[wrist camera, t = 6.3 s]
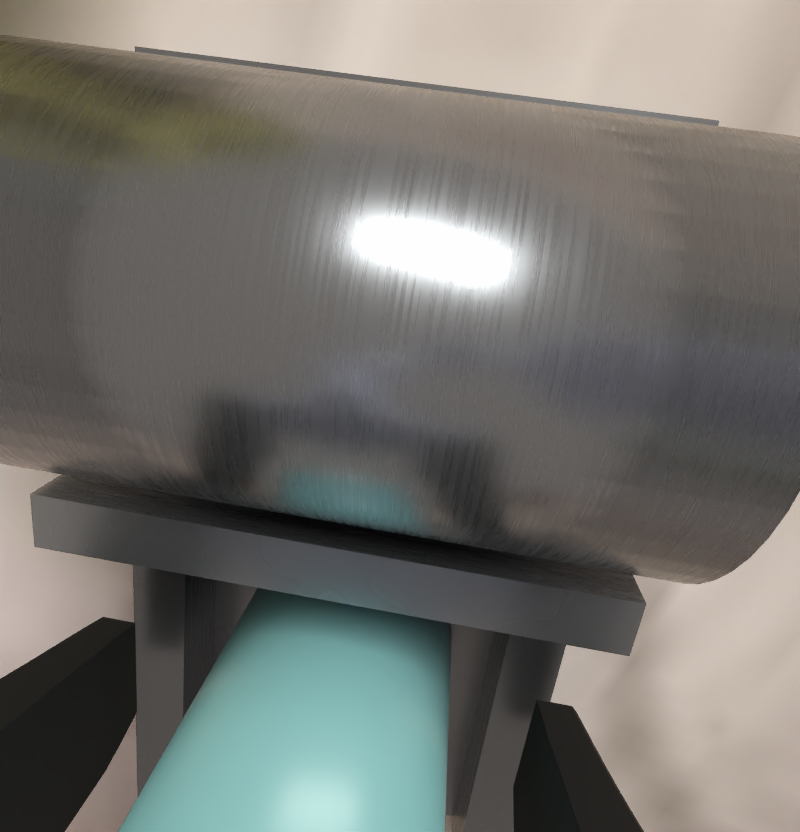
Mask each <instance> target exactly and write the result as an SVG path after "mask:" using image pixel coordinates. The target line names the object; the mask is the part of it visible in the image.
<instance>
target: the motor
mask: <svg viewBox="0 0 800 832" xmlns="http://www.w3.org/2000/svg"><path fill="white" fill-rule="evenodd" d="M718 124H719V121H716V120H709V119H701V118H693V117H685V116H677V115H669V114H661V113H654V112H646V111H638V110H630V109H622V108H614V107H606V106H599V105H591V104H583V103H575V102H567V101H559V100H551V99H543V98H536V97H528V96H520V95H512V94H504V93H496V92H488V91H481V90H473V89H465V88H457V87H449V86H441V85H433V84H426V83H418V82H410V81H402V80H394V79H386V78H378V77H371V76H363V75H355V74H347V73H339V72H331V71H323V70H315V69H308V68H300V67H292V66H284V65H276V64H268V63H260V62H253V61H245V60H237V59H229V58H221V57H213V56H205V55H198V54H190V53H182V52H174V51H166V50H158V49H150V48H143V47H135V52H133V51H125V50H117V49H109V48H102V47H94V46H86V45H78V44H70V43H62V42H55V41H47V40H39V39H31V38H23V37H15V36H6V35H0V463H1V464H6V465H12V466H18V467H24V468H29V469H35V470H41V471H46V472H52V473H58V474H62V475H60V476H59V477H57V478H56V479H54V480H52V481H51V482H49V483H47V484H46V485H44V486H43V487H41V488H39V489H38V490H36V491H34V492H33V493H31V494H30V497H31V509H32V521H33V533H34V545H35V547H39V548H45V549H50V550H55V551H61V552H66V553H72V554H77V555H83V556H88V557H93V558H99V559H104V560H110V561H115V562H121V563H126V564H131V565H133V584H134V623H135V632H136V685H137V713H136V735H137V785H138V796H139V795H140V793H141V791H142V789H143V788H144V786H145V784H146V782H147V781H148V779H149V777H150V775H151V774H152V772H153V770H154V768H155V767H156V765H157V763H158V761H159V760H160V758H161V756H162V754H163V753H164V751H165V749H166V747H167V746H168V744H169V742H170V740H171V739H172V737H173V735H174V733H175V732H176V730H177V728H178V726H179V725H180V723H181V721H182V719H183V718H184V716H185V714H186V712H187V711H188V709H189V707H190V705H191V704H192V702H193V700H194V698H195V697H196V695H197V693H198V691H199V690H200V688H201V686H202V684H203V683H204V681H205V679H206V677H207V676H208V674H209V672H210V670H211V669H212V667H213V665H214V664H215V662H216V660H217V658H218V657H219V655H220V653H221V651H222V650H223V648H224V646H225V644H226V643H227V641H228V639H229V637H230V636H231V634H232V632H233V630H234V629H235V627H236V625H237V623H238V622H239V620H240V618H241V616H242V615H243V613H244V611H245V609H246V608H247V606H248V604H249V602H250V601H251V599H252V597H253V595H254V594H255V592H256V590H257V588H262V589H267V590H273V591H278V592H284V593H289V594H294V595H300V596H305V597H311V598H316V599H322V600H327V601H332V602H338V603H343V604H349V605H354V606H360V607H365V608H370V609H376V610H381V611H387V612H392V613H398V614H403V615H408V616H414V617H419V618H425V619H430V620H436V621H441V622H446V623H450V625H451V634H452V639H451V668H450V697H449V725H448V754H447V783H446V811H445V814H447V815H452V832H514V814H513V785H514V782H515V778H516V774H517V771H518V767H519V763H520V759H521V756H522V752H523V748H524V745H525V741H526V737H527V733H528V730H529V726H530V722H531V719H532V715H533V711H534V707H535V704H536V700H541V701H547V702H550V700H551V697H552V693H553V690H554V686H555V682H556V679H557V675H558V672H559V668H560V665H561V661H562V657H563V654H564V650H565V647H566V645H571V646H577V647H582V648H588V649H593V650H599V651H604V652H609V653H615V654H620V655H626V656H630V652H631V649H632V646H633V643H634V640H635V637H636V634H637V631H638V628H639V625H640V622H641V619H642V616H643V613H644V609H645V606H646V602H645V600H644V598H643V596H642V594H641V592H640V590H639V587H638V585H637V583H636V581H635V579H634V577H633V575H639V576H645V577H650V578H656V579H662V580H667V581H673V582H679V583H684V584H701V583H705V582H710V581H714V580H716V579H718V578H720V577H722V576H724V575H726V574H728V573H730V572H732V571H733V570H734V569H736V568H737V567H738V566H740V565H741V564H742V563H743V562H745V561H746V560H747V559H749V558H750V557H751V556H752V555H753V554H754V553H755V552H756V551H757V550H758V548H759V547H760V546H761V545H762V544H763V543H764V542H765V541H766V540H767V539H768V538H769V537H770V535H771V534H772V533H773V531H774V530H775V528H776V527H777V526H778V524H779V523H780V522H781V520H782V519H783V517H784V516H785V515H786V513H787V512H788V510H789V509H790V507H791V505H792V503H793V502H794V500H795V498H796V496H797V495H798V493H799V491H800V137H796V136H790V135H782V134H775V133H767V132H759V131H751V130H743V129H736V128H728V127H720V126H718ZM632 574H633V575H632Z"/></svg>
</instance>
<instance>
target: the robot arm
mask: <svg viewBox="0 0 800 832" xmlns="http://www.w3.org/2000/svg"><path fill="white" fill-rule="evenodd" d="M136 713H137V685H136V632H135V623H132V622H127V621H121V620H116V619H111V618H106V617H102V618H101V619H99V620H97V621H95V622H94V623H92V624H90V625H88V626H87V627H85V628H83V629H82V630H80V631H78V632H77V633H75V634H74V635H72V636H70V637H69V638H67V639H65V640H64V641H62V642H60V643H59V644H57V645H56V646H54V647H52V648H51V649H49V650H47V651H46V652H44V653H43V654H41V655H39V656H38V657H36V658H34V659H33V660H31V661H29V662H28V663H26V664H24V665H23V666H21V667H19V668H18V669H16V670H14V671H13V672H11V673H9V674H8V675H6V676H4V677H3V678H1V679H0V832H65V830H66V829H67V827H68V826H69V824H70V823H71V821H72V820H73V818H74V817H75V816H76V814H77V813H78V811H79V810H80V808H81V807H82V805H83V804H84V802H85V801H86V799H87V798H88V796H89V795H90V793H91V792H92V790H93V789H94V787H95V786H96V784H97V783H98V781H99V780H100V778H101V777H102V775H103V774H104V772H105V771H106V769H107V767H108V765H109V763H110V762H111V760H112V758H113V756H114V754H115V753H116V751H117V749H118V747H119V745H120V743H121V742H122V740H123V738H124V736H125V734H126V732H127V730H128V728H129V726H130V724H131V722H132V720H133V718H134V716H135V715H136ZM513 814H514V832H644V831H643V829H642V828H641V826H640V824H639V823H638V821H637V819H636V818H635V816H634V815H633V813H632V811H631V810H630V808H629V806H628V805H627V803H626V801H625V799H624V798H623V796H622V794H621V793H620V791H619V789H618V787H617V786H616V784H615V782H614V780H613V778H612V777H611V775H610V773H609V771H608V770H607V768H606V766H605V764H604V762H603V761H602V759H601V757H600V755H599V753H598V751H597V750H596V748H595V746H594V744H593V742H592V740H591V738H590V737H589V735H588V733H587V731H586V729H585V727H584V725H583V723H582V722H581V720H580V718H579V716H578V714H577V712H576V711H575V710H574V708H573V707H572V706H568V705H562V704H557V703H552V702H547V701H541V700H536V704H535V707H534V711H533V715H532V719H531V722H530V726H529V730H528V733H527V737H526V741H525V745H524V748H523V752H522V756H521V759H520V763H519V767H518V771H517V774H516V778H515V782H514V785H513Z"/></svg>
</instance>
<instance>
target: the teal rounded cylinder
mask: <svg viewBox="0 0 800 832" xmlns="http://www.w3.org/2000/svg"><path fill="white" fill-rule="evenodd" d="M451 639H452V634H451V625H450V623H446V622H441V621H436V620H430V619H425V618H419V617H414V616H408V615H403V614H398V613H392V612H387V611H381V610H376V609H370V608H365V607H360V606H354V605H349V604H343V603H338V602H332V601H327V600H322V599H316V598H311V597H305V596H300V595H294V594H289V593H284V592H278V591H273V590H267V589H262V588H257V590H256V592H255V594H254V595H253V597H252V599H251V601H250V602H249V604H248V606H247V608H246V609H245V611H244V613H243V615H242V616H241V618H240V620H239V622H238V623H237V625H236V627H235V629H234V630H233V632H232V634H231V636H230V637H229V639H228V641H227V643H226V644H225V646H224V648H223V650H222V651H221V653H220V655H219V657H218V658H217V660H216V662H215V664H214V665H213V667H212V669H211V670H210V672H209V674H208V676H207V677H206V679H205V681H204V683H203V684H202V686H201V688H200V690H199V691H198V693H197V695H196V697H195V698H194V700H193V702H192V704H191V705H190V707H189V709H188V711H187V712H186V714H185V716H184V718H183V719H182V721H181V723H180V725H179V726H178V728H177V730H176V732H175V733H174V735H173V737H172V739H171V740H170V742H169V744H168V746H167V747H166V749H165V751H164V753H163V754H162V756H161V758H160V760H159V761H158V763H157V765H156V767H155V768H154V770H153V772H152V774H151V775H150V777H149V779H148V781H147V782H146V784H145V786H144V788H143V789H142V791H141V793H140V795H139V796H138V798H137V800H136V802H135V803H134V805H133V807H132V809H131V810H130V812H129V814H128V816H127V817H126V819H125V821H124V822H123V824H122V826H121V828H120V829H119V831H118V832H445V811H446V783H447V754H448V725H449V697H450V668H451Z"/></svg>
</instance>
